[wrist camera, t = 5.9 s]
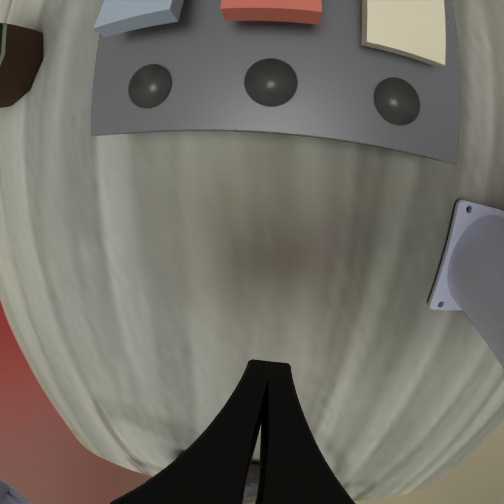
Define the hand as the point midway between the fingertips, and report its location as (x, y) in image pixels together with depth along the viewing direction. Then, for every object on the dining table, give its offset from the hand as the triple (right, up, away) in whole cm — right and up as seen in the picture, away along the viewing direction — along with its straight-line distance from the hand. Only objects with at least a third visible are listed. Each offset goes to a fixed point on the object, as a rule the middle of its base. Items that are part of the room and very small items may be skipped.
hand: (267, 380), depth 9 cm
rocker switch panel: (+1, +17, +3) cm, 17 cm away
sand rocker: (+6, +16, -2) cm, 17 cm away
